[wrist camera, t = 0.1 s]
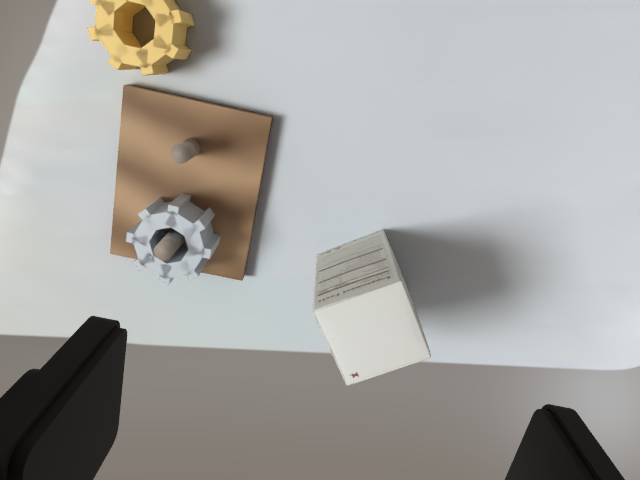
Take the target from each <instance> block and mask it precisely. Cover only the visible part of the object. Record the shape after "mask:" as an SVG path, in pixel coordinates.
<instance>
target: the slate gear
mask: <svg viewBox="0 0 640 480" xmlns="http://www.w3.org/2000/svg"><path fill="white" fill-rule="evenodd" d="M190 199H191V195H187V194H182V193H181V194H180V195H179V196H178V197H177V198H175V199H174V200H173V201H171V202H164V201H163V199H162V198H161V197H160V198H158V199H157V200H155V201H154V202H153V203H151V204H150V205H149V206H147V207H146V208H145V209H144V210H142V211H141V212H140V213H139V214H138V215H139V217H140V218H141V219H142V220H141V221H140V222H139V223H137V224H136V225H135V226H134V227H133V228H131V229H130V230H129V231H128V232H127V237H126V242H129V243H133V244H134V247H135V250H136V253H137V256H138V258H137V259H136V260H135V261H134V262H133V263H134V265H135V266H136V267H137V268H138V270H139V271H140V270H141V269H143V268H144V267H146V268H147V269H149V270H151V271H152V272H154V273H156V274H157V275H159V276H160V279H159V282H160V283H165V284H170V282H171V281H172V280H173V278H174V277H179V276H185V275H186V276H187V277H188V278H189V280H190V281H191V280H193V279H194V278H196V277H198V276H199V274H200V273H201V271H202V269H203V268H204V266H205V264H206V263H207V261H208V260H209V259H210V258H211V256H212V254H213V253H214V251H215V250H216V248H217V246H218V245H219V241H220V235H218V234H214V232H213V228H212V225H211V220H212V219H213V218H214V216H215V214H214V213H213V211H212V210H211V209H210V207H209V208H208V209H206V210H205V211H204V210H202V209H200V208H199V207H197V206H196V205H194V204H193V203H191V202H190ZM170 227H171V228H173V229H174V230H176V231H177V232H179V233H181V234H182V235H184V237H185V240H186V244H187V247H182V248H178V250H177V251H176V252H175V253H174V255H173V256H172V257H171V258H170V259H169V260H166V261H163V260H160V259H158V258H157V257H156V256H155V254H154V248H155V246H156V245H157V244H158V243H159V242H160V241H161V240H162V239H163V238H164V237H165V232H164V228H170Z"/></svg>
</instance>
